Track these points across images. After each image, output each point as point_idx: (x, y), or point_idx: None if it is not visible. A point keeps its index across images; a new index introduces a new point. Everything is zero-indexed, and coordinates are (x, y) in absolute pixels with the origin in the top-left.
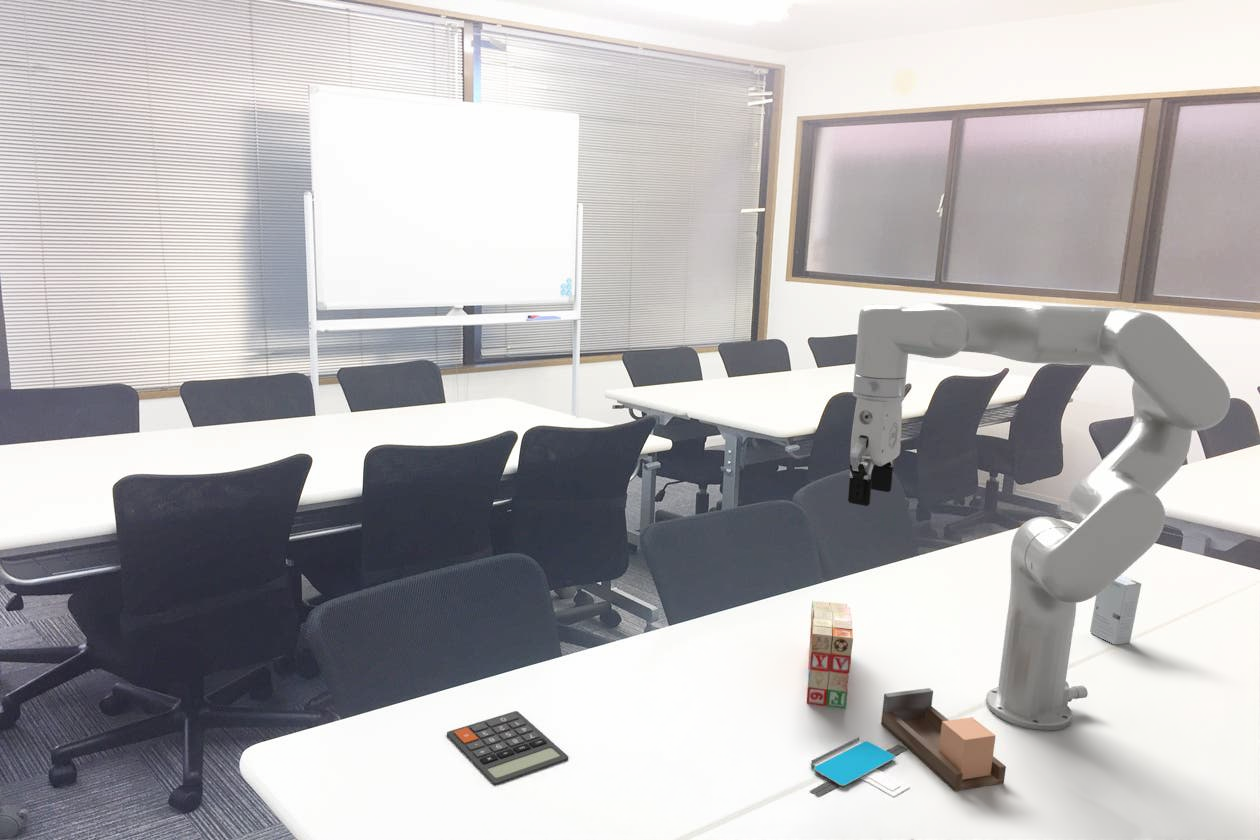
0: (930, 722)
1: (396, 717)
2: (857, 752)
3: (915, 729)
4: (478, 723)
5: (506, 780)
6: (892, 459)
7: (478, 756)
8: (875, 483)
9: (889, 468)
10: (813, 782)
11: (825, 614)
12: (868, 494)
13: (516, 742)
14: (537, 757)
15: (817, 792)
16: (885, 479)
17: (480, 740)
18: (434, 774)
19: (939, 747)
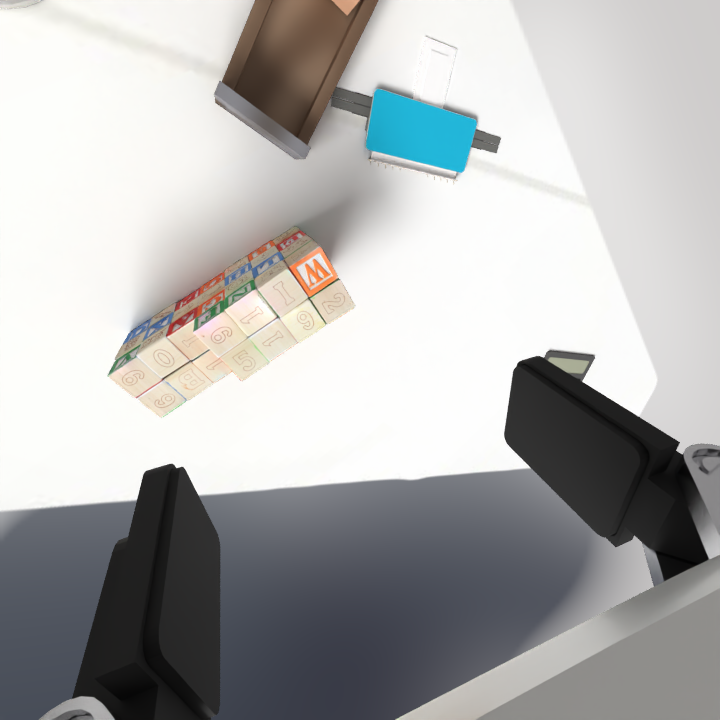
0: (239, 80)
1: None
2: (400, 143)
3: (280, 96)
4: None
5: (588, 355)
6: (523, 705)
7: None
8: (210, 556)
9: (159, 656)
10: (478, 159)
11: (268, 339)
12: (584, 388)
13: None
14: (557, 365)
15: (494, 143)
16: (184, 555)
17: None
18: (596, 388)
19: (354, 6)
